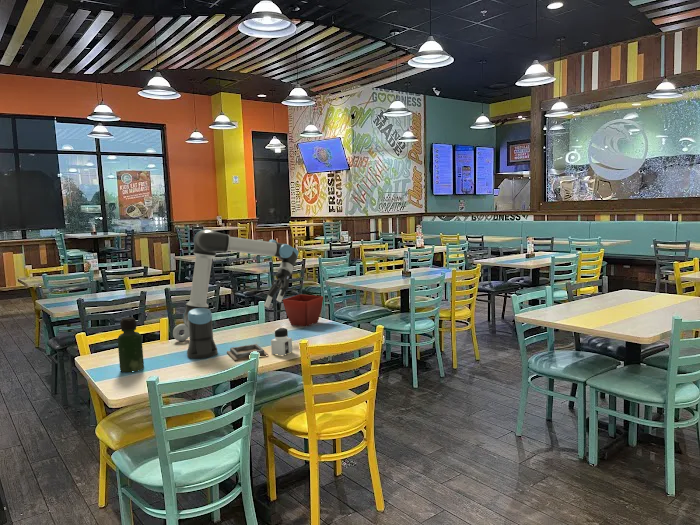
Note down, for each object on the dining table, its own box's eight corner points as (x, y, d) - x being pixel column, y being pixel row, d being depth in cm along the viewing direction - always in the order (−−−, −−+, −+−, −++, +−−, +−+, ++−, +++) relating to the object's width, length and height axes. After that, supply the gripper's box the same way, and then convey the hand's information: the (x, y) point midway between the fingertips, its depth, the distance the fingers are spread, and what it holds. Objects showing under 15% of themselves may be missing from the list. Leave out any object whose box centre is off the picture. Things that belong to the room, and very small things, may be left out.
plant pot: (307, 328, 312) (306, 301, 310) (283, 325, 322) (281, 299, 320) (325, 321, 328) (324, 296, 326) (301, 319, 338) (300, 294, 336)
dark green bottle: (148, 368, 242) (143, 317, 240) (126, 374, 235) (121, 321, 232) (137, 365, 249) (133, 314, 247) (116, 370, 242) (111, 319, 239)
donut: (174, 343, 288) (173, 326, 287) (172, 342, 291) (171, 324, 290) (192, 340, 294) (190, 323, 293) (190, 338, 297) (188, 322, 295)
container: (292, 352, 262) (291, 327, 260) (283, 356, 255) (282, 331, 254) (280, 350, 266) (279, 326, 264) (271, 354, 259) (270, 329, 258)
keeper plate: (234, 361, 249) (234, 355, 249) (226, 353, 264) (226, 347, 264) (268, 356, 257) (267, 350, 256) (258, 348, 272) (258, 342, 271)
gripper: (301, 269, 282) (289, 302, 271) (279, 280, 300) (266, 311, 289) (291, 262, 279) (278, 295, 268) (268, 274, 297) (255, 305, 286)
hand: (272, 304), depth 279 cm, fingers open, 13 cm apart
